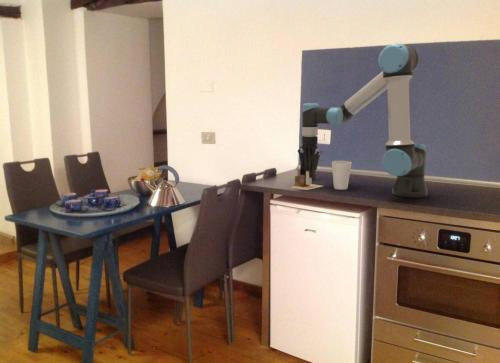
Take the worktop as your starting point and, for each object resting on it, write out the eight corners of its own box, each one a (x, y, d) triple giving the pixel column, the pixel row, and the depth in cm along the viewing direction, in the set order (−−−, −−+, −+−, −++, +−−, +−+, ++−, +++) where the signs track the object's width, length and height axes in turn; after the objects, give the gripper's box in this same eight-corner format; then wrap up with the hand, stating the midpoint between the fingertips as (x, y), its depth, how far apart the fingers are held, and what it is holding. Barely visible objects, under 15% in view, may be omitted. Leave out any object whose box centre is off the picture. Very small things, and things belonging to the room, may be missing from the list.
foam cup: (350, 191, 218) (351, 163, 215) (330, 190, 220) (331, 163, 217) (350, 187, 227) (351, 161, 225) (331, 186, 229) (332, 160, 226)
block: (309, 185, 229) (309, 175, 228) (302, 187, 226) (303, 176, 225) (301, 184, 233) (301, 174, 232) (294, 185, 229) (294, 175, 228)
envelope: (324, 186, 229) (324, 185, 229) (306, 190, 219) (306, 189, 219) (307, 184, 236) (307, 183, 236) (290, 187, 226) (290, 187, 226)
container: (318, 179, 248) (319, 146, 245) (311, 182, 241) (312, 147, 238) (303, 178, 253) (304, 145, 250) (296, 180, 245) (296, 146, 242)
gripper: (325, 136, 220) (324, 184, 224) (303, 134, 229) (303, 181, 233) (316, 136, 215) (314, 186, 219) (294, 135, 224) (293, 183, 228)
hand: (308, 184), depth 226 cm, fingers closed
